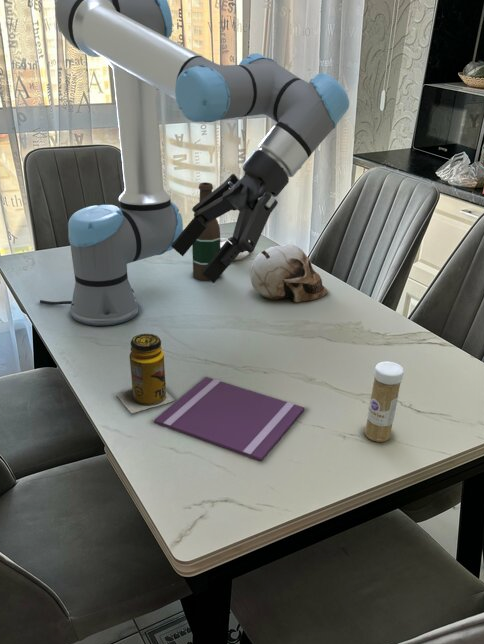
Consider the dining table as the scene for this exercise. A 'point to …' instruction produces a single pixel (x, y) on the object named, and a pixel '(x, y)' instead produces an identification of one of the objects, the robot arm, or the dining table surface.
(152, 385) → the condiment
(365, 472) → the dining table surface
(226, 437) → the towel
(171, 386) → the dining table surface
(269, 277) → the coin bank
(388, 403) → the sprinkles bottle
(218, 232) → the beer bottle
